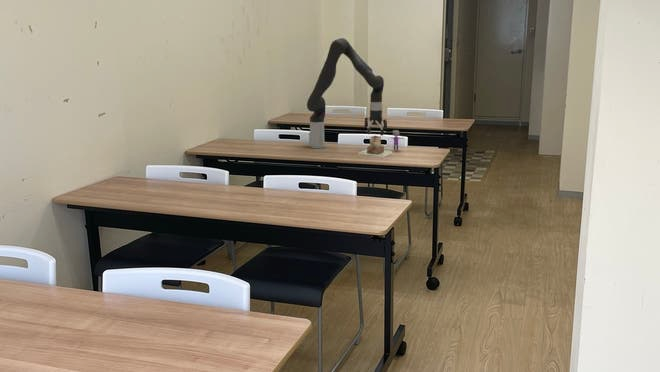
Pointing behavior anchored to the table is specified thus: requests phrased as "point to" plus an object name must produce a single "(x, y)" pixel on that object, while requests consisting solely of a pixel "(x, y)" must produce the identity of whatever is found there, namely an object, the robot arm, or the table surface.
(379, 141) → the top brick
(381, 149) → the base brick
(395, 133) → the toy
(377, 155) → the build plate
